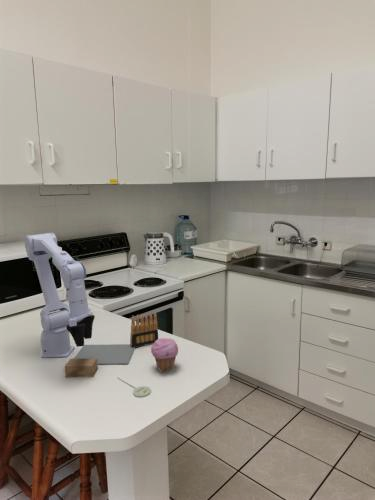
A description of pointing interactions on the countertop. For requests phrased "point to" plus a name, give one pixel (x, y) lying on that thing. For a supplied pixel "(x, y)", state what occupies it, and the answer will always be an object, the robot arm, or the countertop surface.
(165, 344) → the cupcake
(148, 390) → the sign
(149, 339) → the ammunition clip
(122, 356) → the mat
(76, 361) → the card box
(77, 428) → the countertop surface
